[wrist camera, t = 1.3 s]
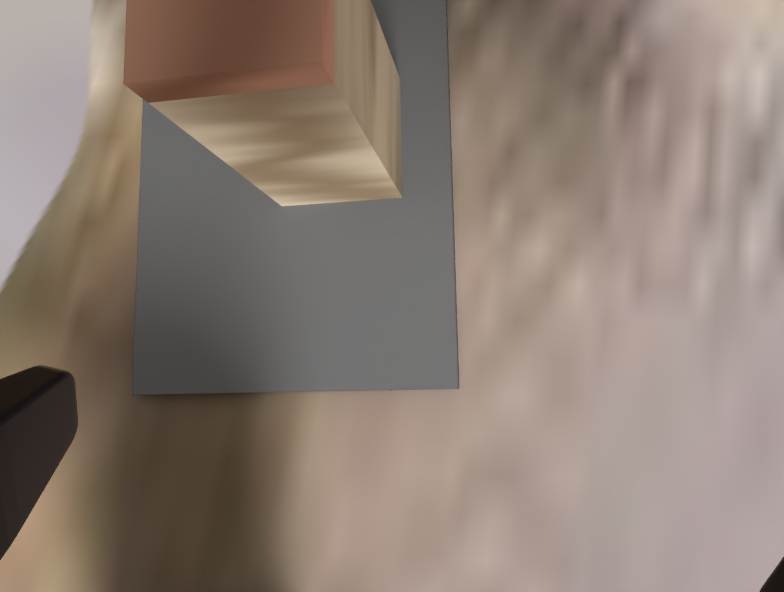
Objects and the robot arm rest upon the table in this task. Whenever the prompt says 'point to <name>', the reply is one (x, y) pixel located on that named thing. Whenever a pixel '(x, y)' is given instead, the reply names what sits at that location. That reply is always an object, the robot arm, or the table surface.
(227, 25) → the tan long rectangular block
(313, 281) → the rubber mat
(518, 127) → the table surface
